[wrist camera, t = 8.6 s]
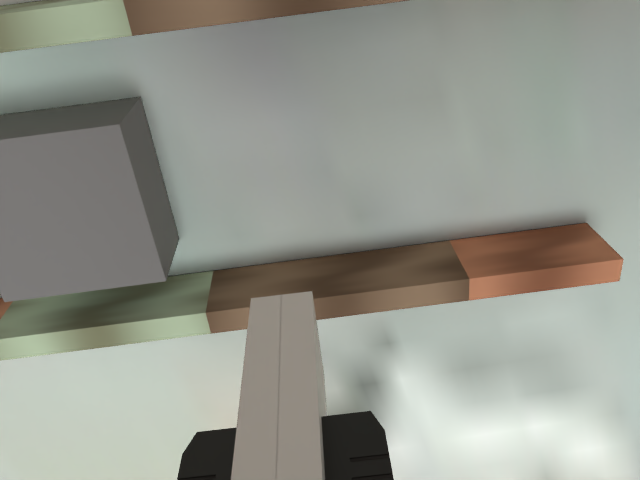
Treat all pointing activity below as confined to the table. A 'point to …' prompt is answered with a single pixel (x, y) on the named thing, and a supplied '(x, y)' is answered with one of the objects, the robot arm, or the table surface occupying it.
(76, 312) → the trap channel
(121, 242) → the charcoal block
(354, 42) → the table surface
